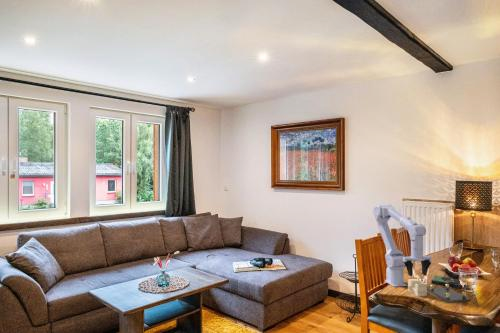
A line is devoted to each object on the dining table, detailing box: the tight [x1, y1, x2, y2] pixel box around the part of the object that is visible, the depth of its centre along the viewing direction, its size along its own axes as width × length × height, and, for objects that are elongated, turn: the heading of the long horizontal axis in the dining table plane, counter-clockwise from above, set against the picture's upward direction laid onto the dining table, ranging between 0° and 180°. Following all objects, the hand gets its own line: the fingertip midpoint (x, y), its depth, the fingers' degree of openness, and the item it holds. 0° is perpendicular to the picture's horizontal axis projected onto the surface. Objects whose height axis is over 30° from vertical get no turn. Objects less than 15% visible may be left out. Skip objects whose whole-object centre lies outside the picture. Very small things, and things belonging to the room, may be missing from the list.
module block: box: [407, 278, 428, 297], centre depth 173 cm, size 8×5×6 cm, turn 7°
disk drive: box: [430, 275, 462, 290], centre depth 186 cm, size 10×3×15 cm
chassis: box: [427, 284, 472, 303], centre depth 170 cm, size 16×12×4 cm
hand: (417, 275), depth 173 cm, fingers open, 7 cm apart
